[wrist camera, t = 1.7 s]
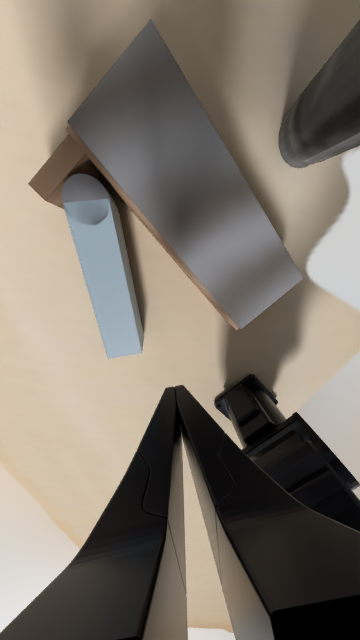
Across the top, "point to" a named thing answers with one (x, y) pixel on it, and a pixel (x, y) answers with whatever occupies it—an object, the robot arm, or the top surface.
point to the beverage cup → (326, 110)
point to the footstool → (174, 180)
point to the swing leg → (104, 263)
